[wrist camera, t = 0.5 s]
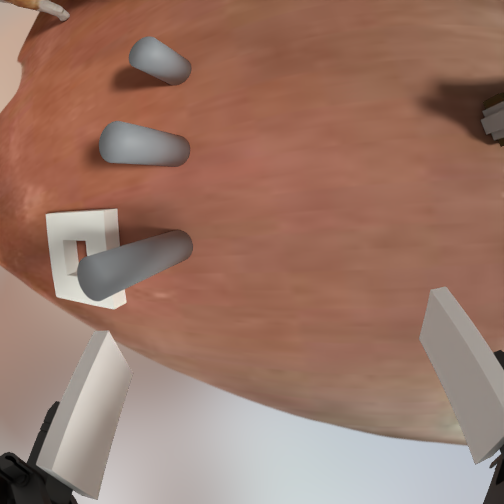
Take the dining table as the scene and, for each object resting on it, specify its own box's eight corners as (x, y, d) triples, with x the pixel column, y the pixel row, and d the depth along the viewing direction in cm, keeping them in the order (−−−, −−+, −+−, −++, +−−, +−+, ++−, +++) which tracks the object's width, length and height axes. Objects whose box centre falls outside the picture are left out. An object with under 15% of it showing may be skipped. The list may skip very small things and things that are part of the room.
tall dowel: (164, 229, 39) (74, 255, 24) (192, 230, 38) (105, 257, 23) (166, 260, 40) (80, 298, 25) (193, 261, 39) (111, 304, 24)
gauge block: (58, 212, 45) (45, 214, 42) (117, 208, 41) (103, 210, 38) (68, 291, 48) (56, 296, 45) (126, 302, 44) (114, 309, 41)
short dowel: (165, 61, 35) (130, 42, 27) (191, 55, 34) (159, 32, 26) (163, 87, 36) (127, 71, 28) (190, 82, 35) (157, 62, 27)
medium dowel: (162, 137, 37) (99, 125, 26) (190, 134, 36) (130, 117, 25) (162, 168, 38) (98, 165, 27) (190, 165, 37) (130, 160, 25)
